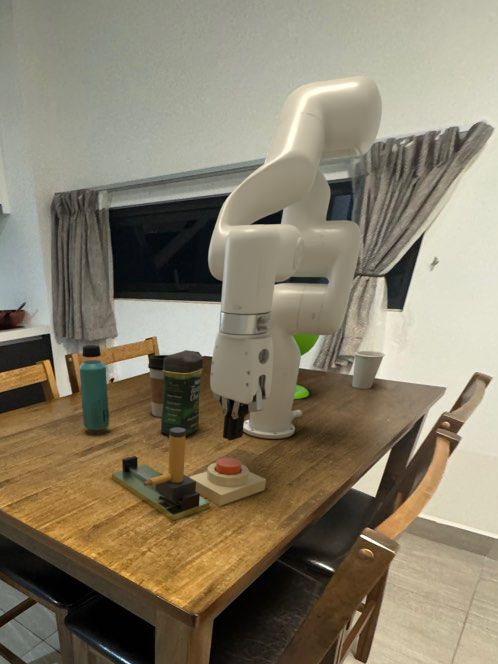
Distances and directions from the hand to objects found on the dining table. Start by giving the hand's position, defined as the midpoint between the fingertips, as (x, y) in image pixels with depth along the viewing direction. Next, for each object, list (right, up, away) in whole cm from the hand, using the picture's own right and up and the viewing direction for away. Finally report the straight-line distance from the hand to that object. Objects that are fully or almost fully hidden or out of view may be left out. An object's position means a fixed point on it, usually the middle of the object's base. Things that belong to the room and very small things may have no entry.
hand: (232, 437), depth 79 cm
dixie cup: (+56, +31, +65) cm, 91 cm away
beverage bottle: (-27, +9, +33) cm, 43 cm away
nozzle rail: (-13, -9, +4) cm, 17 cm away
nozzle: (-12, -11, -2) cm, 16 cm away
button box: (0, -9, +5) cm, 10 cm away
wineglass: (+29, +28, +60) cm, 73 cm away
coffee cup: (-9, +16, +44) cm, 48 cm away
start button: (0, -6, +3) cm, 6 cm away
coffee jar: (-6, +9, +32) cm, 33 cm away
